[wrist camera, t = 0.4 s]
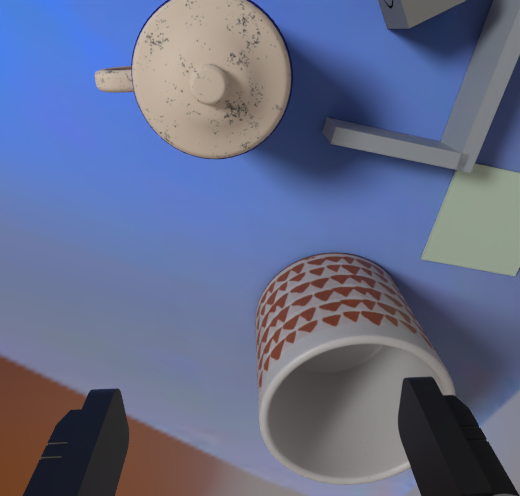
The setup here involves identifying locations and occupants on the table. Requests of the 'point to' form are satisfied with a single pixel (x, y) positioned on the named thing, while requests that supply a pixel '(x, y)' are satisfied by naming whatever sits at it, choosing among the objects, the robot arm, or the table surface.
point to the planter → (338, 368)
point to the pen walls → (464, 110)
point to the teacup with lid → (208, 76)
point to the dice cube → (412, 11)
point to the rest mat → (479, 222)
